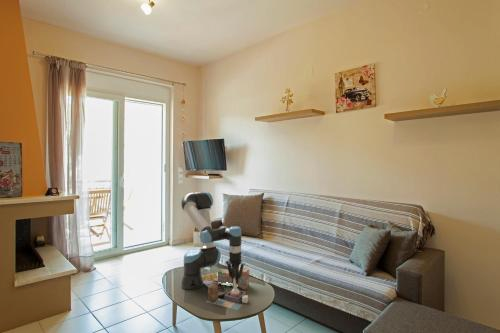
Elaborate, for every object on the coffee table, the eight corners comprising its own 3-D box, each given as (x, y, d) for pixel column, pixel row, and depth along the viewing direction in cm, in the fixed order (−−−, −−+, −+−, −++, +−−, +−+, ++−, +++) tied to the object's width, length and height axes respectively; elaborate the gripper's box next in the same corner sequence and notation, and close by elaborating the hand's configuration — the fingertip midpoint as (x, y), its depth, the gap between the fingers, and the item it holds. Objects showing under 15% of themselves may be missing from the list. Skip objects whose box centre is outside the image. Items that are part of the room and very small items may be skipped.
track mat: (206, 302, 180) (206, 301, 180) (212, 297, 186) (212, 296, 186) (237, 310, 170) (237, 310, 170) (242, 305, 176) (242, 304, 176)
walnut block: (207, 301, 181) (207, 286, 180) (211, 297, 185) (211, 283, 184) (214, 302, 179) (213, 288, 178) (217, 299, 183) (217, 285, 182)
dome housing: (224, 300, 183) (224, 295, 183) (232, 293, 192) (232, 288, 192) (238, 303, 178) (238, 298, 178) (245, 296, 187) (245, 291, 187)
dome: (228, 298, 183) (228, 289, 183) (233, 293, 189) (233, 285, 189) (237, 300, 180) (237, 291, 180) (242, 295, 186) (242, 287, 186)
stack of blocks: (217, 284, 204) (217, 267, 204) (221, 281, 210) (221, 264, 210) (246, 289, 197) (246, 271, 197) (249, 285, 203) (249, 268, 203)
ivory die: (242, 302, 179) (242, 297, 179) (243, 300, 183) (243, 294, 182) (247, 303, 179) (247, 297, 179) (248, 300, 182) (248, 295, 182)
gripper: (223, 251, 183) (223, 288, 184) (241, 254, 177) (241, 292, 178) (229, 248, 190) (229, 283, 191) (247, 251, 184) (247, 287, 185)
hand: (235, 288), depth 185 cm, fingers closed
